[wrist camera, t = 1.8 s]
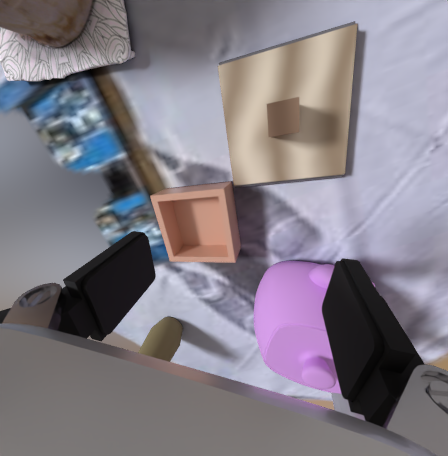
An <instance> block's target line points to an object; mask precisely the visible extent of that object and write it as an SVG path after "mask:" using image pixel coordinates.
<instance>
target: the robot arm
mask: <svg viewBox="0 0 448 456" xmlns="http://www.w3.org/2000/svg"><path fill="white" fill-rule="evenodd" d="M155 276H156V275H155V269H154V264H153V260H152V255H151V250H150V245H149V240H148V237H147V236H146V235H145V233H143V232H136V231H133V232H131V233H129V234H128V235H126V236H125V237H124V238H122V239H121V240H119V241H118V242H116V243H115V244H114V245H112V246H111V247H109V248H108V249H106V250H105V251H104V252H102V253H101V254H99V255H98V256H96V257H95V258H93V259H92V260H91V261H90V262H88V263H86V264H85V265H83V266H82V267H81V268H79V269H78V270H76V271H75V272H73V273H72V274H71V275H69V276H68V277H66V278H65V279H64V280H63V281H64V283H65V285H66V286H65V287H64V288H63V289H62V287H61V286H60V285H59V284H56V283H49V284H43V285H40V286H37V287H35V288H33V289H31V290H29V291H27V292H25V293H24V294H22V295H21V296H20V297H19V298H18V299H17V300H16V301H15V302H14V304H13V306H12V308H9V309H6V310H3V311H0V456H448V371H446V370H444V369H441V368H438V367H436V366H432V365H425V364H424V362H423V361H422V359H421V358H420V356H419V354H418V353H417V351H416V350H415V348H414V346H413V345H412V343H411V342H410V340H409V338H408V337H407V335H406V334H405V332H404V330H403V329H402V327H401V326H400V324H399V322H398V321H397V319H396V318H395V316H394V314H393V313H392V311H391V310H390V308H389V306H388V305H387V303H386V301H385V300H384V299H383V297H382V296H380V295H379V293H378V292H377V290H376V288H375V287H374V285H373V284H372V282H371V280H370V279H369V277H368V275H367V274H366V272H365V270H364V269H363V267H362V266H361V264H360V262H359V261H357V260H351V259H341V261H337V262H336V263H335V266H334V270H333V273H332V276H331V279H330V282H329V285H328V288H327V291H326V294H325V297H324V301H323V304H322V315H323V319H324V323H325V327H326V331H327V336H328V340H329V344H330V348H331V352H332V356H333V361H334V365H335V369H336V373H337V377H338V381H339V386H340V390H341V394H339V393H331V394H332V399H333V404H334V409H335V410H332V409H328V408H325V407H322V406H319V405H315V404H312V403H309V402H306V401H302V400H299V399H296V398H293V397H289V396H286V395H283V394H279V393H276V392H272V391H269V390H265V389H262V388H259V387H255V386H252V385H248V384H245V383H241V382H238V381H234V380H231V379H228V378H224V377H221V376H217V375H214V374H210V373H207V372H203V371H200V370H196V369H193V368H189V367H186V366H182V365H179V364H175V363H172V362H168V361H165V360H161V359H158V358H154V357H150V356H147V355H143V354H140V353H136V352H132V351H129V350H126V349H122V348H118V347H115V346H111V345H107V344H104V343H100V342H96V341H93V340H90V339H87V338H88V337H89V336H91V338H92V339H95V340H98V341H102V340H103V339H104V338H105V337H106V335H108V334H110V333H111V332H112V331H113V330H114V329H115V328H116V326H117V325H118V324H119V323H120V321H121V320H122V319H123V318H124V317H125V315H126V314H127V313H128V312H129V310H130V309H131V308H132V307H133V306H134V304H135V303H136V302H137V301H138V300H139V298H140V297H141V296H142V295H143V293H144V292H145V291H146V290H147V289H148V287H149V286H150V285H151V284H152V282H153V281H154V279H155Z"/></svg>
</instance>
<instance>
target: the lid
mask: <svg viewBox="0 0 448 456" xmlns="http://www.w3.org/2000/svg"><path fill="white" fill-rule="evenodd" d="M356 34H357V24H355V25H351V26H348V27H345V28H341V29H338V30H335V31H331V32H328V33H325V34H321V35H318V36H315V37H311V38H308V39H305V40H302V41H298V42H295V43H292V44H288V45H285V46H282V47H278V48H275V49H272V50H268V51H265V52H262V53H258V54H255V55H252V56H249V57H245V58H242V59H239V60H235V61H232V62H229V63H225V64H222V65H219V66H218V72H219V79H220V87H221V94H222V101H223V109H224V116H225V124H226V131H227V139H228V146H229V153H230V161H231V168H232V176H233V183H234V186H235V185H245V184H255V183H264V182H274V181H284V180H293V179H303V178H313V177H322V176H332V175H342V174H345V166H346V154H347V142H348V130H349V118H350V106H351V94H352V82H353V70H354V58H355V46H356Z"/></svg>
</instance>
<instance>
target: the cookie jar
mask: <svg viewBox="0 0 448 456" xmlns="http://www.w3.org/2000/svg"><path fill="white" fill-rule="evenodd" d="M134 57H135V52H134V51H131V46H130V39H129V31H128V25H127V13H126V10H125V6H124V0H0V63H1V65H2V68H3V70H4V72H5V77H6V78H7V80H8V81H20V80H24V81H43V80H51V79H52V78H65V76H68V75H70V74H72V73H76V72H80V71H84V70H88V69H93V68H97V67H101V66H107V65H112V64H121V63H123V62H126V61H127V60H128V59H132V58H134Z"/></svg>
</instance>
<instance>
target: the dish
mask: <svg viewBox="0 0 448 456" xmlns="http://www.w3.org/2000/svg"><path fill="white" fill-rule="evenodd" d="M150 197H151V200H152V204H153V207H154V210H155V213H156V217H157V220H158V223H159V226H160V230H161V233H162V236H163V239H164V243H165V246H166V249H167V252H168V256H169V259H170V261H182V262H236V259H237V257H238V254H239V251H240V248H241V243H240V236H239V229H238V221H237V214H236V207H235V199H234V192H233V185H232V181H229V182H220V183H211V184H202V185H193V186H184V187H175V188H167V189H164V190H162V191H160V192H158V193H155V194H153V195H151V196H150Z"/></svg>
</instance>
